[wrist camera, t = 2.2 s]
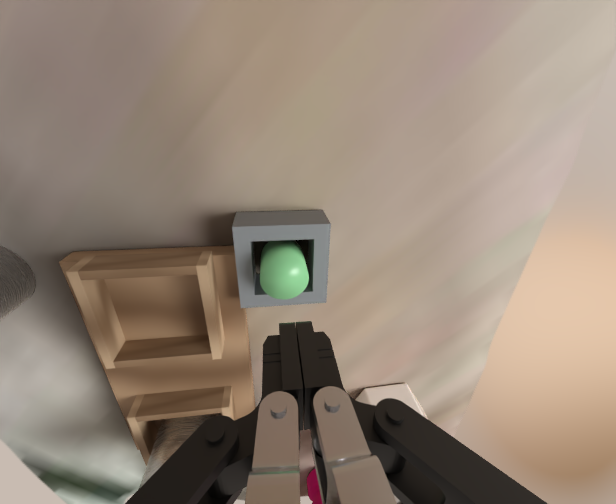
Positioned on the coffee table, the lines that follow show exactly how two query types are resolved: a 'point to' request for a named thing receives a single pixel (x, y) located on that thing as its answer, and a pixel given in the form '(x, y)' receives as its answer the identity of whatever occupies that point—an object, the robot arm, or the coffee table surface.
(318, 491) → the pepper mill
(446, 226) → the coffee table surface
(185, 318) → the wooden tray
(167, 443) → the seated billet
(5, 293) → the cylinder
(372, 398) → the jar
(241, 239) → the grey square box
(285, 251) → the button
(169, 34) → the coffee table surface
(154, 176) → the coffee table surface
